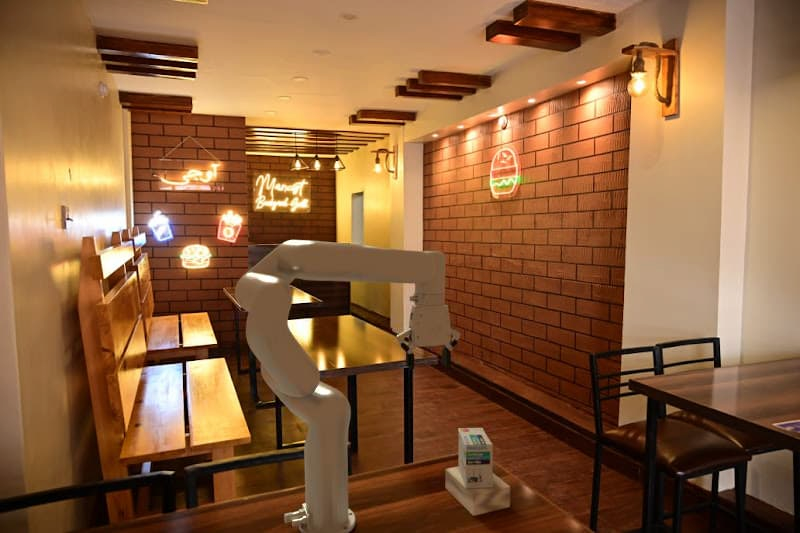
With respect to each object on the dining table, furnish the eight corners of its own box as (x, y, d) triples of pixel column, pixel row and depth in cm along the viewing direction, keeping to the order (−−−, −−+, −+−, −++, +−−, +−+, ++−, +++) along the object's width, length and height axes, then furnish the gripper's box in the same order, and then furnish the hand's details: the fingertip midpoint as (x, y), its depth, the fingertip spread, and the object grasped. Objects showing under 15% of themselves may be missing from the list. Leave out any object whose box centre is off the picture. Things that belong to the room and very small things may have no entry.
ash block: (473, 515, 121) (473, 495, 120) (445, 487, 134) (445, 468, 133) (509, 506, 124) (510, 486, 124) (479, 480, 137) (479, 461, 137)
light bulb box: (493, 488, 123) (493, 444, 122) (465, 489, 123) (465, 445, 122) (483, 467, 134) (483, 426, 133) (457, 468, 133) (457, 427, 132)
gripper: (402, 303, 125) (401, 373, 126) (467, 300, 131) (465, 368, 132) (392, 299, 132) (391, 365, 133) (454, 297, 138) (452, 361, 139)
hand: (428, 366), depth 132 cm, fingers open, 9 cm apart
